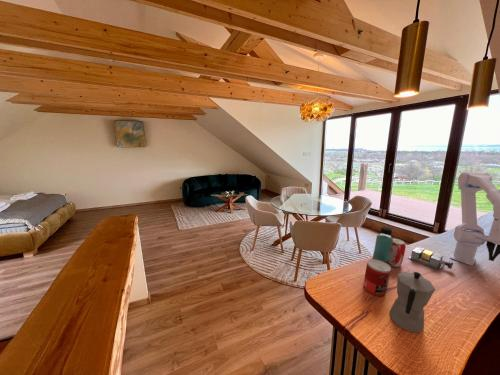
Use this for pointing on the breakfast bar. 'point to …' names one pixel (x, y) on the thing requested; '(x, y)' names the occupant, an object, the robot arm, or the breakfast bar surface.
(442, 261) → the shaft
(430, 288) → the coffeepot
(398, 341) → the breakfast bar surface
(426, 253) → the block
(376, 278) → the canned food
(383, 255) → the beverage bottle
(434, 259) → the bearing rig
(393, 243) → the soda can
